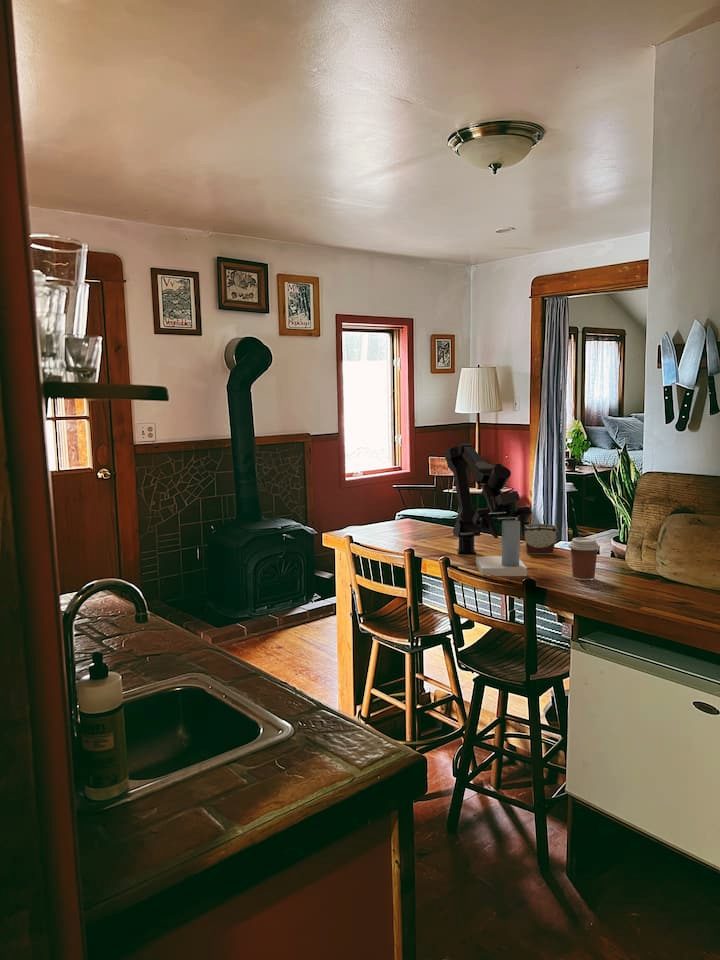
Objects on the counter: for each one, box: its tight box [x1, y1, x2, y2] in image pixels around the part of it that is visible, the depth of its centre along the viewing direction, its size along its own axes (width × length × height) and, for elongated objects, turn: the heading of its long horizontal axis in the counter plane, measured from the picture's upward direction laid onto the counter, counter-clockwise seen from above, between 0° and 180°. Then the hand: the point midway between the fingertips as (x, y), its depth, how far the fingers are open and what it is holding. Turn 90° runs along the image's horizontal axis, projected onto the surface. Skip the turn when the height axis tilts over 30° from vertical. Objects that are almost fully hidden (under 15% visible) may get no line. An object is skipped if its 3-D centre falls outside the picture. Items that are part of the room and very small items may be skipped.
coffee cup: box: [568, 537, 601, 581], centre depth 215 cm, size 9×9×12 cm
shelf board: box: [475, 555, 528, 577], centre depth 229 cm, size 18×14×2 cm
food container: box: [524, 523, 559, 555], centre depth 255 cm, size 12×6×10 cm, turn 84°
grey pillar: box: [501, 519, 521, 567], centre depth 224 cm, size 6×6×14 cm
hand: (510, 537), depth 224 cm, fingers open, 9 cm apart
